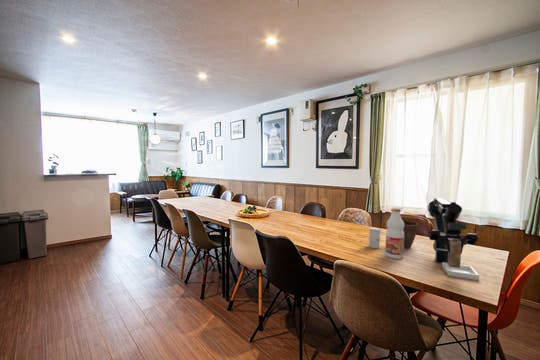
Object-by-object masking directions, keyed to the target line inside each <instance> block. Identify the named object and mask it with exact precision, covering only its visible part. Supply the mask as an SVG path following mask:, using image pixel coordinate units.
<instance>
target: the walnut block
mask: <svg viewBox="0 0 540 360" xmlns="http://www.w3.org/2000/svg"><path fill="white" fill-rule="evenodd" d="M449 247H450V253H449V252H448V265H449V266H450V267H456V268H460V265H461V257H462V254H461V242H460V240H459V239H449Z"/></svg>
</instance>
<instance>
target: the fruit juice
mask: <svg viewBox="0 0 540 360" xmlns="http://www.w3.org/2000/svg"><path fill="white" fill-rule="evenodd" d="M390 211H391V213H390V217H389V218H388V220H386V228H387V229H386V231H385V232H386V233H385V256H386V257H387V258H391V259H395V260H396V259H397V260H401V259H404V250H405V248H404V231H403V228H404V222H403V219H402V217H401V208H396V207H393V208H391V209H390Z"/></svg>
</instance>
